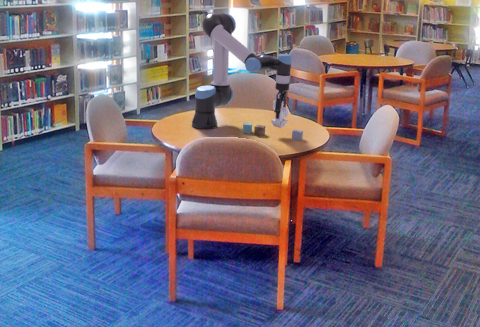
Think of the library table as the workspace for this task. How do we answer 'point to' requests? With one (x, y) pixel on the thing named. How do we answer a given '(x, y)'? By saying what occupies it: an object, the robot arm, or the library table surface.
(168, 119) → the library table surface
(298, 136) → the slate-grey block
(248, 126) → the dusty-teal block
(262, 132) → the walnut block
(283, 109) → the figurine
